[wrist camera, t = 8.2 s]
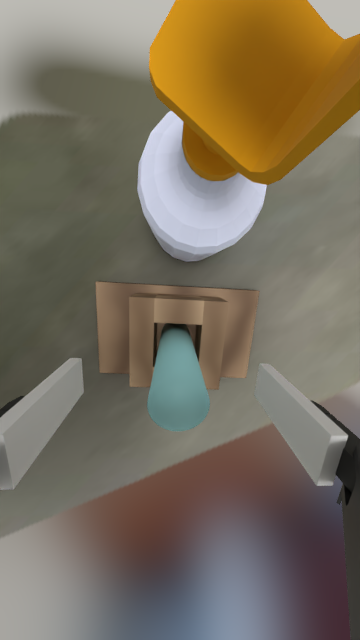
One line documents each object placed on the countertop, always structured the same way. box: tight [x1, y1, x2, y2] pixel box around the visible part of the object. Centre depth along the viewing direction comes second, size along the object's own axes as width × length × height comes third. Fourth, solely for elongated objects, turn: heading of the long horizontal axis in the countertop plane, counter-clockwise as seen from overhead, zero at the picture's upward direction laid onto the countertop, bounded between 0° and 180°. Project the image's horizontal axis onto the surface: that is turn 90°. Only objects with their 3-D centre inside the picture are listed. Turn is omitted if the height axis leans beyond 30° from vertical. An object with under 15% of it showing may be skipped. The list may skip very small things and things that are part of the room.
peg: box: [147, 323, 210, 431], centre depth 18 cm, size 4×4×14 cm
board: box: [96, 281, 259, 390], centre depth 23 cm, size 20×12×6 cm, turn 87°
